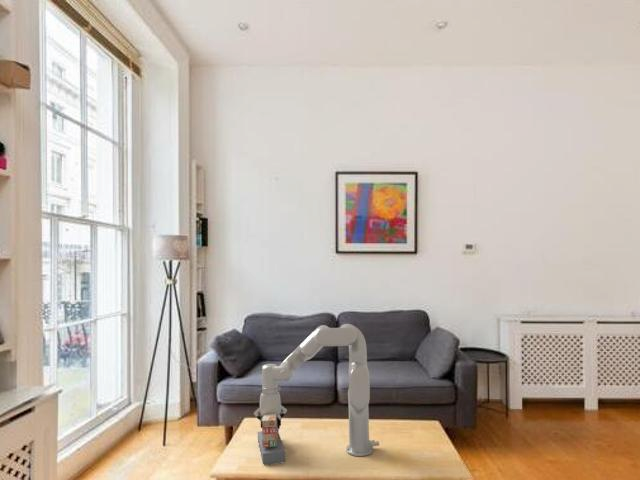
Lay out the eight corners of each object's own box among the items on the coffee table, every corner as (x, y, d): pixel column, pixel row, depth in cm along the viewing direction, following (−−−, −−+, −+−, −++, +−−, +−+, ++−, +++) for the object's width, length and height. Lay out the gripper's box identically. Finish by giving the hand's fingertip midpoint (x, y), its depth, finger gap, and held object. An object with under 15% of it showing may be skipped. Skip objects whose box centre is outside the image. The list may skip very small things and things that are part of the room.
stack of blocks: (266, 429, 217) (266, 404, 218) (279, 429, 217) (278, 404, 218) (262, 447, 196) (262, 420, 196) (276, 447, 196) (275, 419, 197)
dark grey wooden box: (277, 439, 220) (277, 429, 220) (285, 462, 194) (285, 450, 195) (257, 441, 217) (257, 431, 217) (263, 465, 192) (262, 453, 192)
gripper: (286, 386, 213) (287, 423, 212) (251, 390, 209) (252, 427, 208) (289, 391, 206) (289, 429, 205) (252, 394, 202) (253, 433, 201)
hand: (270, 427), depth 206 cm, fingers closed on stack of blocks, 6 cm apart
